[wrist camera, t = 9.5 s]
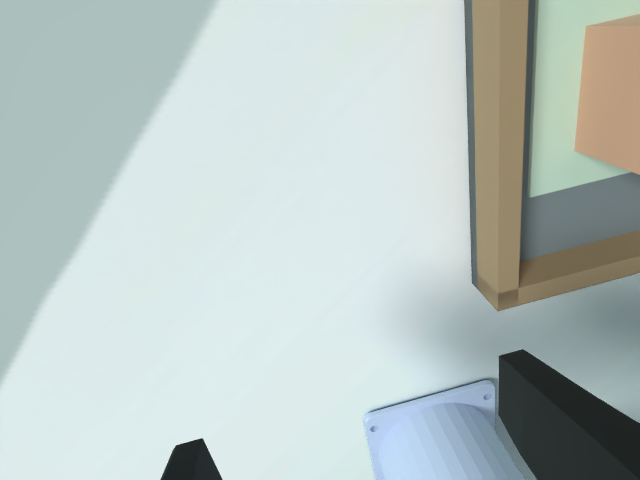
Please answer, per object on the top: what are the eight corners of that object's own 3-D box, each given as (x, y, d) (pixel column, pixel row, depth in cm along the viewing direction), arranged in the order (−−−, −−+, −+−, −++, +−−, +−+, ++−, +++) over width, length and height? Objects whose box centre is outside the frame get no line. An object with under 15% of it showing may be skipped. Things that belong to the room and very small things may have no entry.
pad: (705, 151, 20) (709, 152, 20) (527, 196, 20) (530, 197, 20) (759, -79, 16) (765, -80, 16) (536, -31, 16) (540, -31, 15)
